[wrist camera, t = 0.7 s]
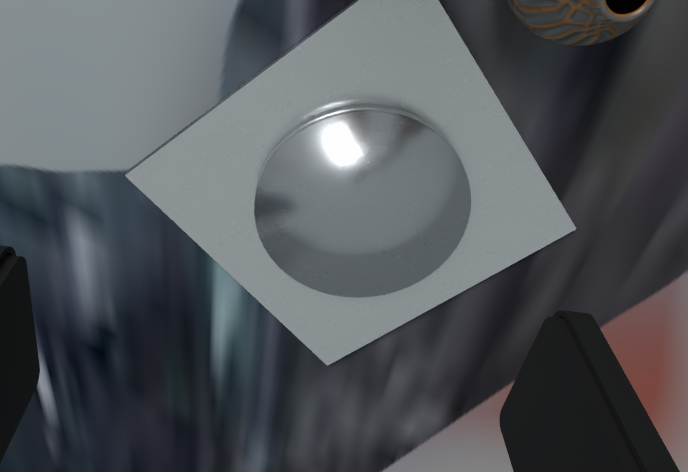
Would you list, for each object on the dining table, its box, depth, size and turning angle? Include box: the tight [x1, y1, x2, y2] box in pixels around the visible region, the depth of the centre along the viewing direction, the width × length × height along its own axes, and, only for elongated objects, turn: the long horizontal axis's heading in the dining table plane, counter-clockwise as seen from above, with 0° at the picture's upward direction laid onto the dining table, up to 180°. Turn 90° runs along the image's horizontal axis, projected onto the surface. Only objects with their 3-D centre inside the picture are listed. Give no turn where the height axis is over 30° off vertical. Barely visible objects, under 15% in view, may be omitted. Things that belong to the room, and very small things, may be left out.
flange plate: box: [125, 0, 576, 366], centre depth 38 cm, size 20×20×2 cm
